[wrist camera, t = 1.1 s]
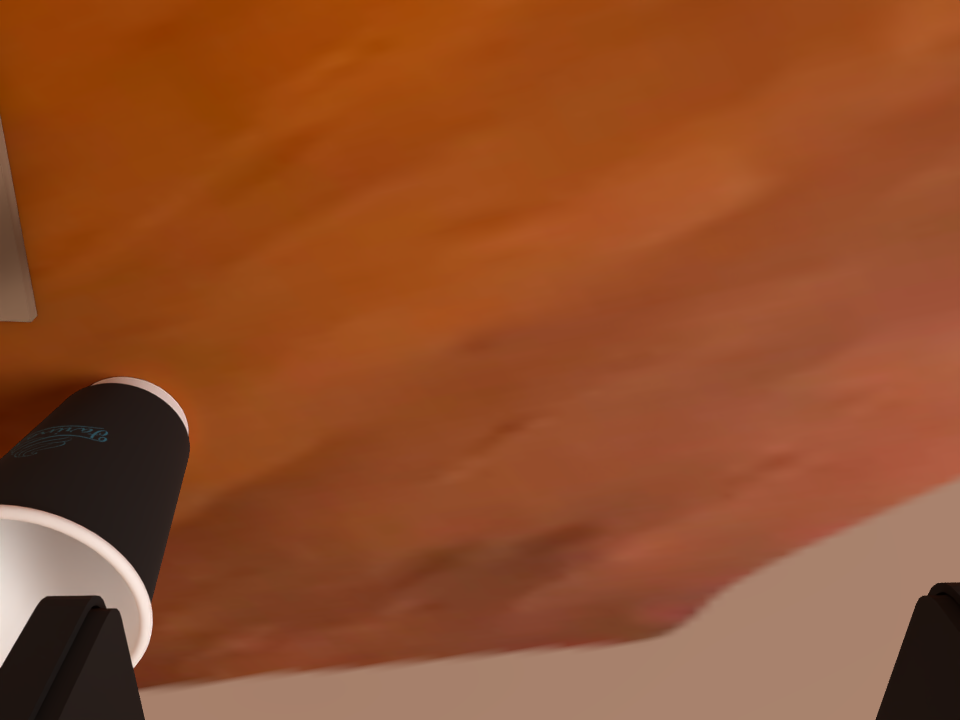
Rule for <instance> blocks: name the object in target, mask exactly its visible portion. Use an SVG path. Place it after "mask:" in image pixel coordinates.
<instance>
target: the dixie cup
mask: <svg viewBox="0 0 960 720" xmlns="http://www.w3.org/2000/svg"><path fill="white" fill-rule="evenodd" d="M189 452H190V443H189V437H188V423H187V420H186V417H185V414H184V412H183V410H182V409H181V407H180V406H179V404H178V403H177V402H176V401H175V400H174V398H172V397H171V396H170V395H169V394H168V393H167V392H165V391H164V390H163V389H161V388H160V387H158V386H156V385H154V384H152V383H149V382H147V381H144V380H140V379H136V378H130V377H114V378H108V379H104V380H101V381H98V382H96V383H94V384H92V385H91V386H88V387H86V388H83V389H81V390H79V391H77V392H75V393H74V394H72V395H71V396H70V397H69V398H67V399H66V400H65V401H64V402H63V403H62V404H61V405H60V406H59V407H57V408H56V409H55V410H54V411H53V412H52V413H51V414H50V415H49V416H48V417H46V418H45V419H44V420H43V421H42V422H41V423H40V424H39V425H38V426H37V427H35V428H34V429H33V430H32V431H31V432H30V433H29V434H28V435H27V436H26V437H24V438H23V439H22V440H21V441H20V442H19V443H18V444H17V445H16V446H14V447H13V448H12V449H11V450H10V451H9V452H8V453H7V454H6V455H5V456H3V457H2V458H1V459H0V668H1V666H2V664H3V663H4V661H5V659H6V657H7V656H8V654H9V652H10V651H11V649H12V647H13V645H14V644H15V642H16V640H17V638H18V637H19V635H20V633H21V632H22V630H23V628H24V626H25V625H26V623H27V621H28V620H29V618H30V616H31V614H32V613H33V611H34V609H35V608H36V606H37V605H38V603H39V602H40V601H41V599H43V598H45V597H46V596H85V595H97V596H100V597H101V598H102V599H103V600H104V603H105V605H106V608H117V609H118V610H119V611H120V614H121V617H122V621H123V626H124V630H125V635H126V639H127V643H128V648H129V652H130V657H131V661H132V665H133V668H134V667H135V666H136V664H137V663H138V662H139V660H140V659H141V658H142V656H143V654H144V653H145V651H146V649H147V646H148V644H149V641H150V637H151V633H152V624H153V620H152V608H151V601H152V598H153V594H154V590H155V586H156V582H157V578H158V574H159V570H160V566H161V563H162V559H163V555H164V551H165V547H166V543H167V539H168V535H169V531H170V528H171V524H172V520H173V516H174V512H175V508H176V504H177V500H178V496H179V493H180V489H181V485H182V481H183V477H184V473H185V469H186V465H187V462H188V458H189Z"/></svg>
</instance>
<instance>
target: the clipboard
mask: <svg viewBox="0 0 960 720" xmlns="http://www.w3.org/2000/svg"><path fill="white" fill-rule="evenodd" d="M36 317H37V311H36V306H35V300H34V295H33V290H32V284H31V279H30V274H29V268H28V263H27V257H26V252H25V247H24V241H23V236H22V230H21V225H20V220H19V214H18V209H17V203H16V198H15V193H14V187H13V182H12V176H11V171H10V166H9V160H8V155H7V150H6V144H5V139H4V133H3V128H2V123H1V117H0V321H17V322H31V321H32V320H33V319H34V318H36Z"/></svg>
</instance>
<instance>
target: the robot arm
mask: <svg viewBox="0 0 960 720" xmlns="http://www.w3.org/2000/svg"><path fill="white" fill-rule="evenodd" d="M0 720H145V718H144V714H143V709H142V705H141V701H140V696H139V692H138V687H137V683H136V678H135V674H134V670H133V665H132V661H131V657H130V652H129V648H128V643H127V639H126V635H125V630H124V626H123V621H122V617H121V614H120V611H119V610H118V609H117V608H106V605H105V603H104V600H103V599H102V598H101V597H100V596H97V595H85V596H46V597H45V598H43V599H41V601H40V602H39V603H38V605H37V606H36V608H35V609H34V611H33V613H32V614H31V616H30V618H29V620H28V621H27V623H26V625H25V626H24V628H23V630H22V632H21V633H20V635H19V637H18V638H17V640H16V642H15V644H14V645H13V647H12V649H11V651H10V652H9V654H8V656H7V657H6V659H5V661H4V663H3V664H2V666H1V668H0ZM876 720H960V583H937V584H936V585H934V586H933V587H932V588H931V590H930V592H929V593H928V595H927V596H922V597H921V598H919V600H918V601H917V603H916V606H915V609H914V612H913V614H912V617H911V620H910V623H909V626H908V629H907V632H906V635H905V638H904V640H903V643H902V646H901V649H900V652H899V655H898V657H897V660H896V663H895V666H894V669H893V672H892V674H891V677H890V680H889V683H888V686H887V689H886V691H885V694H884V697H883V700H882V703H881V706H880V709H879V711H878V714H877V717H876Z"/></svg>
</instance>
